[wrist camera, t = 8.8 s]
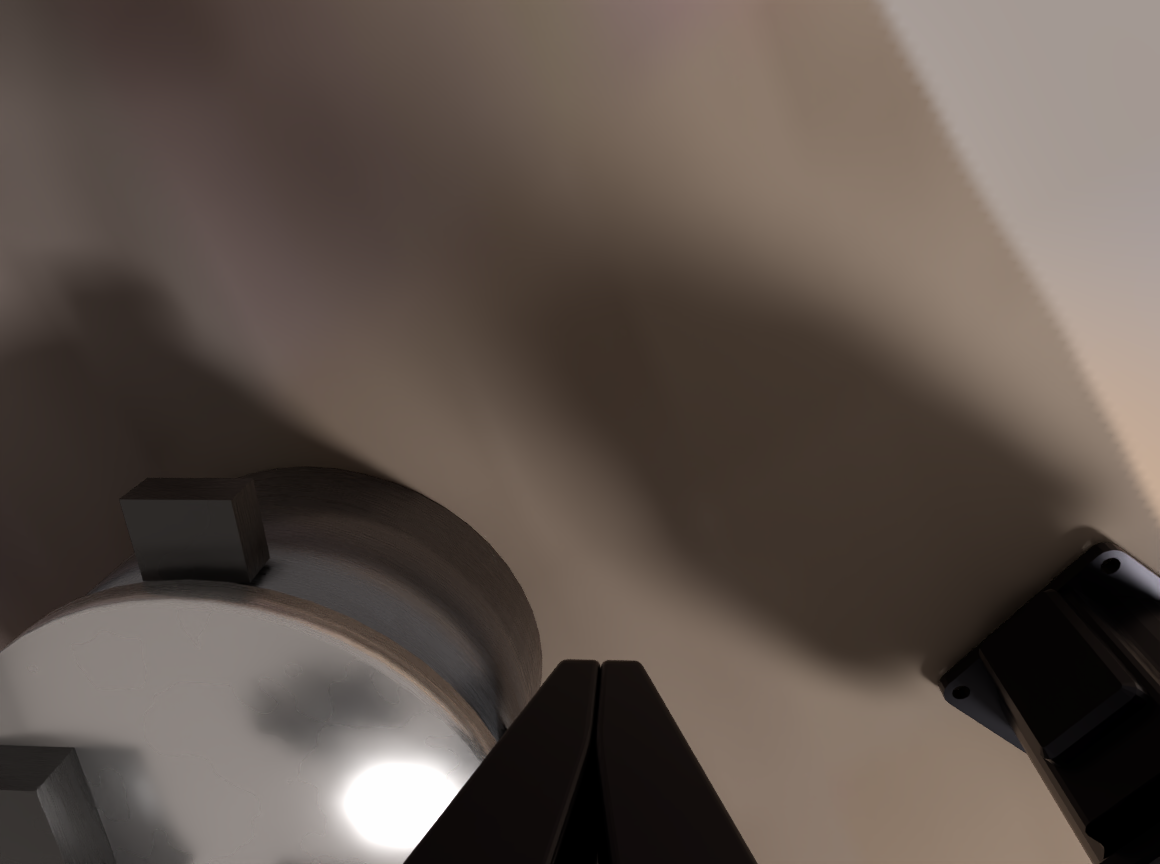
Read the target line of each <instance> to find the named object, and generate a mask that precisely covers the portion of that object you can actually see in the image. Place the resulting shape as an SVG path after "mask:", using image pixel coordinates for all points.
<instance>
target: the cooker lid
mask: <svg viewBox="0 0 1160 864" xmlns="http://www.w3.org/2000/svg"><path fill="white" fill-rule="evenodd" d="M496 743H497V741H496V739H495V738H494V737H493V735H492V734H491V732H490V731H489V730H488V728H487V727H486V725H485V724H484V723H483V721H482V720H481V718H480V717H479V716H478V714H477V713H476V712H475V710H474V709H473V708H472V707H471V706H470V705H469V704H468V703H467V702H466V701H465V700H464V699H463V697H462V696H461V695H460V694H459V693H458V692H457V691H456V690H455V689H454V688H453V687H452V686H451V685H450V684H449V683H448V682H447V681H446V680H444V679H443V678H442V677H441V676H440V675H439V674H437V673H436V672H435V671H434V670H433V669H432V668H430V667H429V666H428V665H427V664H426V663H425V662H423V661H422V660H421V659H419V658H418V657H416V656H415V655H413V654H412V653H411V652H409V651H408V650H406V649H405V648H403V647H402V646H400V645H399V644H397V643H396V642H394V641H393V640H391V639H390V638H388V637H387V636H385V635H383V634H381V633H379V632H377V631H375V630H374V629H372V628H370V627H368V626H366V625H364V624H362V623H360V622H359V621H357V620H355V619H353V618H351V617H348V616H346V615H344V614H341V613H339V612H336V611H334V610H331V609H329V608H326V607H324V606H322V605H319V604H317V603H314V602H312V601H308V600H305V599H301V598H298V597H295V596H291V595H288V594H284V593H281V592H277V591H274V590H270V589H265V588H259V587H254V586H248V585H243V584H237V583H232V582H221V581H207V580H193V579H183V580H160V581H147V582H141V583H135V584H129V585H123V586H117V587H112V588H109V589H106V590H103V591H100V592H96V593H93V594H90V595H87V596H84V597H80V598H78V599H76V600H74V601H72V602H70V603H68V604H66V605H64V606H62V607H60V608H58V609H56V610H54V611H52V612H50V613H49V614H47V615H46V616H44V617H43V618H42V619H40V620H39V621H37V622H36V623H35V624H33V625H32V626H30V627H29V628H28V629H26V630H25V631H24V632H23V633H22V634H20V635H19V636H18V637H17V638H16V639H15V640H13V641H12V642H11V643H10V644H9V645H8V646H6V647H5V648H4V649H3V650H2V651H1V652H0V864H403V862H404V861H405V860H406V859H407V857H408V856H409V855H410V854H411V852H412V851H413V850H414V848H415V847H416V846H417V845H418V843H419V842H420V841H421V839H422V838H423V837H424V836H425V834H426V833H427V832H428V830H429V829H430V828H431V827H432V825H433V824H434V823H435V822H436V820H437V819H438V818H439V816H440V815H441V814H442V813H443V811H444V810H445V809H446V807H447V806H448V805H449V804H450V802H451V801H452V800H453V798H454V797H455V796H456V795H457V793H458V792H459V791H460V790H461V788H462V787H463V786H464V784H465V783H466V782H467V781H468V779H469V778H470V777H471V775H472V774H473V773H474V772H475V770H476V769H477V768H478V766H479V765H480V764H481V763H482V761H483V760H484V759H485V758H486V756H487V755H488V754H489V752H490V751H491V750H492V749H493V747H494V746H495V745H496Z"/></svg>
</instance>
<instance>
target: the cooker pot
mask: <svg viewBox="0 0 1160 864" xmlns="http://www.w3.org/2000/svg"><path fill="white" fill-rule="evenodd" d="M119 501H120V504H121V507H122V511H123V514H124V518H125V521H126V525H127V528H128V531H129V535H130V538H131V542H132V545H133V549H134V553H133V554H132V555H131V556H129V557H128V558H127V559H126V560H125V561H124V562H123V563H122V564H120V565H119V566H118V567H117V568H116V569H115V570H114V571H113V572H111V573H110V574H109V575H108V576H107V577H106V578H105V579H104V580H102V581H101V582H100V583H99V584H98V585H97V586H96V587H95V588H93V589H92V590H91V591H90V592H89V593H88V594H87V595H90V594H93V593H96V592H100V591H103V590H106V589H109V588H112V587H117V586H123V585H129V584H135V583H141V582H147V581H160V580H183V579H193V580H207V581H221V582H232V583H237V584H243V585H248V586H254V587H259V588H265V589H270V590H274V591H277V592H281V593H284V594H288V595H291V596H295V597H298V598H301V599H305V600H308V601H312V602H314V603H317V604H319V605H322V606H324V607H326V608H329V609H331V610H334V611H336V612H339V613H341V614H344V615H346V616H348V617H351V618H353V619H355V620H357V621H359V622H360V623H362V624H364V625H366V626H368V627H370V628H372V629H374V630H375V631H377V632H379V633H381V634H383V635H385V636H387V637H388V638H390V639H391V640H393V641H394V642H396V643H397V644H399V645H400V646H402V647H403V648H405V649H406V650H408V651H409V652H411V653H412V654H413V655H415V656H416V657H418V658H419V659H421V660H422V661H423V662H425V663H426V664H427V665H428V666H429V667H430V668H432V669H433V670H434V671H435V672H436V673H437V674H439V675H440V676H441V677H442V678H443V679H444V680H446V681H447V682H448V683H449V684H450V685H451V686H452V687H453V688H454V689H455V690H456V691H457V692H458V693H459V694H460V695H461V696H462V697H463V699H464V700H465V701H466V702H467V703H468V704H469V705H470V706H471V707H472V708H473V709H474V710H475V712H476V713H477V714H478V716H479V717H480V718H481V720H482V721H483V723H484V724H485V725H486V727H487V728H488V730H489V731H490V732H491V734H492V735H493V737H494V738H495V739H496V741H497V742H498V741H499V740H500V738H501V737H502V736H503V734H504V733H505V732H506V731H507V729H508V728H509V727H510V725H511V724H512V723H513V722H514V720H515V719H516V718H517V717H518V715H519V714H520V713H521V711H522V710H523V709H524V708H525V706H526V705H527V704H528V702H529V701H530V700H531V699H532V697H533V696H534V695H535V693H536V692H537V691H538V690H539V688H540V684H541V678H542V650H541V643H540V636H539V631H538V628H537V624H536V621H535V618H534V614H533V611H532V609H531V606H530V604H529V602H528V600H527V598H526V596H525V594H524V591H523V589H522V587H521V586H520V584H519V583H518V581H517V579H516V578H515V576H514V575H513V573H512V572H511V570H510V569H509V567H508V566H507V564H506V563H505V562H504V561H503V560H502V559H501V557H500V556H499V555H498V554H497V553H496V551H495V550H494V549H493V548H492V547H491V545H490V544H488V543H487V542H486V541H485V540H484V539H483V538H482V537H481V536H480V535H479V534H478V533H477V532H476V531H474V530H473V529H472V528H471V527H470V526H469V525H467V524H466V523H465V522H463V521H462V520H461V519H459V518H458V517H457V516H455V515H454V514H452V513H451V512H450V511H448V510H447V509H445V508H444V507H442V506H440V505H438V504H437V503H435V502H433V501H431V500H430V499H428V498H426V497H424V496H423V495H421V494H418V493H416V492H414V491H412V490H409V489H407V488H405V487H402V486H400V485H398V484H395V483H393V482H389V481H386V480H383V479H380V478H376V477H373V476H370V475H366V474H362V473H356V472H351V471H345V470H340V469H333V468H317V467H295V468H278V469H273V470H267V471H262V472H257V473H252V474H248V475H246V476H243V477H240V478H147V479H145V480H144V481H143V482H141V483H140V484H139V485H138V486H136V487H135V488H134V489H132V490H131V491H130V492H128V493H127V494H126V495H124V496H123V497H122V498H120V499H119ZM87 595H86V596H87Z"/></svg>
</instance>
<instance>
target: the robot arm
mask: <svg viewBox="0 0 1160 864" xmlns="http://www.w3.org/2000/svg"><path fill="white" fill-rule="evenodd" d="M1108 558H1112V560H1111V561H1110V563H1108V564H1106V565H1104V566H1101V564H1102V563H1103V561H1105V560H1107V559H1108ZM958 686H963V688H961V689H959V690H954V689H955V688H956V687H958ZM939 688H940V691H941V692H942V694H943V696H944V698H945V700H946V701H947V702H948V703H949V704H951V705H952V706H954V707H956V708H957V709H959V710H960V711H962V712H963V713H965V714H966V715H968V716H969V717H971V718H973V719H974V720H976V721H977V722H979V723H980V724H982V725H983V726H985V727H986V728H988V729H989V730H991V731H993V732H994V733H996V734H997V735H999V736H1000V737H1002V738H1003V739H1005V740H1006V741H1008V742H1010V743H1011V744H1013V745H1014V746H1016V747H1017V748H1019V749H1020V750H1022V751H1023V752H1025V753H1026V754H1027V755H1028V756H1029V758H1030V760H1031V761H1032V763H1033V765H1034V766H1035V768H1036V770H1037V771H1038V773H1039V775H1040V776H1041V778H1042V780H1043V781H1044V783H1045V785H1046V786H1047V788H1048V790H1049V791H1050V793H1051V795H1052V796H1053V798H1054V800H1055V801H1056V803H1057V805H1058V806H1059V808H1060V810H1061V811H1062V813H1063V815H1064V816H1065V818H1066V820H1067V822H1068V823H1069V825H1070V827H1071V828H1072V830H1073V832H1074V833H1075V835H1076V837H1077V838H1078V840H1079V842H1080V843H1081V845H1082V847H1083V848H1084V850H1085V852H1086V853H1087V855H1088V857H1089V858H1090V860H1091V862H1092V863H1093V864H1160V576H1158V575H1157V574H1156V573H1154V572H1153V571H1151V570H1150V569H1149V568H1147V567H1146V566H1145V565H1143V564H1142V563H1141V562H1139V561H1138V560H1136V559H1135V558H1134V557H1132V556H1131V555H1130V554H1128V553H1127V552H1125V551H1124V550H1123V549H1121V548H1120V547H1119V546H1117V545H1115V544H1113V543H1100V544H1096V545H1095V546H1093V547H1092V548H1090V549H1089V550H1088V551H1086V552H1085V553H1084V554H1083V555H1082V556H1081V557H1079V558H1078V559H1077V560H1076V561H1075V562H1074V563H1073V564H1071V565H1070V566H1069V567H1068V568H1067V569H1066V570H1064V571H1063V572H1062V573H1061V574H1060V575H1059V576H1058V577H1056V578H1055V579H1054V580H1053V581H1052V582H1051V583H1049V584H1048V585H1047V586H1046V587H1045V588H1044V589H1043V590H1041V591H1040V592H1039V593H1038V594H1037V595H1036V596H1035V597H1033V598H1032V599H1031V600H1030V601H1029V602H1028V603H1026V604H1025V605H1024V606H1023V607H1022V608H1021V609H1020V610H1018V611H1017V612H1016V613H1015V614H1014V615H1013V616H1011V617H1010V618H1009V619H1008V620H1007V621H1006V622H1005V623H1003V624H1002V625H1001V626H1000V627H999V628H998V629H996V630H995V631H994V632H993V633H992V634H991V635H990V636H988V637H987V638H986V639H985V640H984V641H983V642H982V643H980V644H979V645H978V646H977V647H976V648H975V649H973V650H972V651H971V652H970V653H969V654H968V655H967V656H965V657H964V658H963V659H962V660H961V661H960V662H958V663H957V664H956V665H955V666H954V667H953V668H952V669H950V670H949V671H948V672H947V673H946V674H945V675H944V676H943V677H942V678H941V679H940V682H939ZM403 864H758V863H757V862H756V860H755V858H754V857H753V855H752V853H751V851H750V850H749V848H748V846H747V845H746V843H745V841H744V839H743V838H742V836H741V834H740V832H739V831H738V829H737V827H736V826H735V824H734V822H733V820H732V819H731V817H730V815H729V813H728V812H727V810H726V808H725V807H724V805H723V803H722V801H721V800H720V798H719V796H718V795H717V793H716V791H715V789H714V788H713V786H712V784H711V782H710V781H709V779H708V777H707V776H706V774H705V772H704V770H703V769H702V767H701V765H700V763H699V762H698V760H697V758H696V757H695V755H694V753H693V751H692V750H691V748H690V746H689V745H688V743H687V741H686V739H685V738H684V736H683V734H682V732H681V731H680V729H679V727H678V726H677V724H676V722H675V720H674V719H673V717H672V715H671V713H670V712H669V710H668V708H667V707H666V705H665V703H664V701H663V700H662V698H661V696H660V695H659V693H658V691H657V689H656V688H655V686H654V684H653V682H652V681H651V679H650V677H649V676H648V674H647V672H646V670H645V669H644V667H643V666H642V664H641V663H639V662H638V661H624V660H607V661H605V662H603V664H602V665H601V667H600V664H599V662H598V661H596V660H575V659H567V660H563V661H561V662H560V663H559V664H558V665H557V667H556V668H555V669H554V670H553V672H552V673H551V674H550V676H549V677H548V678H547V679H546V681H545V682H544V683H543V685H542V686H541V687H540V688H539V690H538V691H537V692H536V693H535V695H534V696H533V697H532V699H531V700H530V701H529V702H528V704H527V705H526V706H525V708H524V709H523V710H522V711H521V713H520V714H519V715H518V717H517V718H516V719H515V720H514V722H513V723H512V724H511V725H510V727H509V728H508V729H507V731H506V732H505V733H504V734H503V736H502V737H501V738H500V740H499V741H498V742H497V743H496V745H495V746H494V747H493V749H492V750H491V751H490V752H489V754H488V755H487V756H486V758H485V759H484V760H483V761H482V763H481V764H480V765H479V766H478V768H477V769H476V770H475V772H474V773H473V774H472V775H471V777H470V778H469V779H468V781H467V782H466V783H465V784H464V786H463V787H462V788H461V790H460V791H459V792H458V793H457V795H456V796H455V797H454V798H453V800H452V801H451V802H450V804H449V805H448V806H447V807H446V809H445V810H444V811H443V813H442V814H441V815H440V816H439V818H438V819H437V820H436V822H435V823H434V824H433V825H432V827H431V828H430V829H429V830H428V832H427V833H426V834H425V836H424V837H423V838H422V839H421V841H420V842H419V843H418V845H417V846H416V847H415V848H414V850H413V851H412V852H411V854H410V855H409V856H408V857H407V859H406V860H405V861H404V862H403Z"/></svg>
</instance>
